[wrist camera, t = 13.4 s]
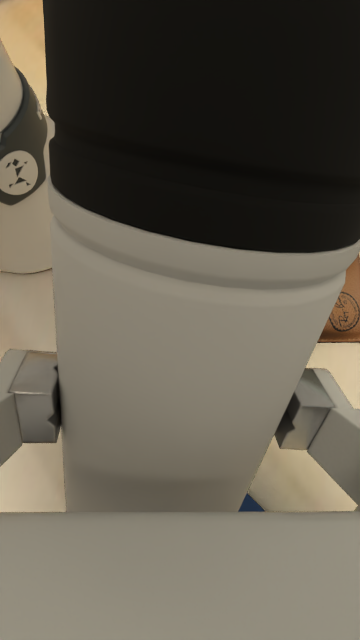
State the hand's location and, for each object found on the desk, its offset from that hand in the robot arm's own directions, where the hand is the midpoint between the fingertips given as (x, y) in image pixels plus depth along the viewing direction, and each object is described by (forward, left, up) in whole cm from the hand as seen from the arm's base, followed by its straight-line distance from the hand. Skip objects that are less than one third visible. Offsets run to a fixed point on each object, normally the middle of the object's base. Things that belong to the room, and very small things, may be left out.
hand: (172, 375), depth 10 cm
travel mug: (+3, -7, -9) cm, 12 cm away
